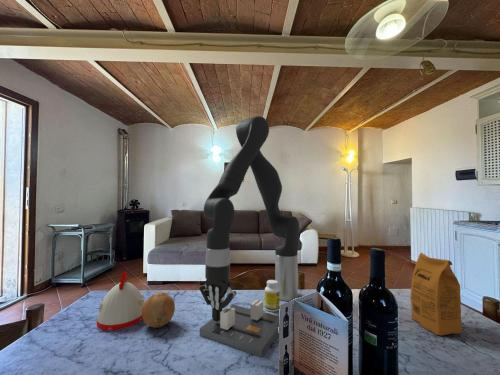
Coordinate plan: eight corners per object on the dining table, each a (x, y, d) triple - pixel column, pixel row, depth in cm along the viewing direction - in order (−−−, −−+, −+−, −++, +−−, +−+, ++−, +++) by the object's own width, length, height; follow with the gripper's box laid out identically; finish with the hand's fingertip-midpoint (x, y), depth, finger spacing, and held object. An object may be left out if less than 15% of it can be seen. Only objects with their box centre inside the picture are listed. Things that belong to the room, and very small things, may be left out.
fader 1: (227, 321, 71) (228, 306, 71) (234, 323, 70) (234, 308, 70) (220, 327, 67) (220, 311, 68) (227, 330, 66) (227, 313, 66)
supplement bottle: (278, 313, 82) (278, 284, 82) (263, 311, 83) (263, 283, 83) (280, 306, 87) (280, 279, 87) (265, 304, 88) (265, 278, 89)
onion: (169, 314, 80) (170, 285, 80) (178, 327, 72) (179, 294, 72) (138, 323, 74) (139, 291, 75) (145, 338, 66) (146, 302, 67)
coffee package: (433, 316, 80) (431, 251, 81) (469, 337, 67) (465, 260, 69) (405, 316, 80) (403, 251, 81) (435, 337, 67) (432, 260, 68)
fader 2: (256, 313, 76) (256, 299, 77) (263, 314, 75) (263, 300, 75) (250, 318, 73) (250, 303, 73) (257, 320, 72) (257, 305, 72)
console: (232, 310, 83) (232, 304, 83) (285, 324, 74) (285, 317, 74) (199, 335, 68) (199, 327, 68) (261, 357, 58) (261, 348, 58)
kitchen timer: (146, 307, 85) (148, 266, 86) (141, 326, 72) (143, 277, 73) (103, 312, 81) (105, 269, 82) (90, 333, 68) (92, 281, 69)
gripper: (242, 262, 72) (241, 320, 71) (208, 257, 78) (207, 310, 77) (228, 268, 65) (228, 332, 64) (193, 262, 71) (192, 320, 70)
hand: (216, 320), depth 70 cm, fingers closed
